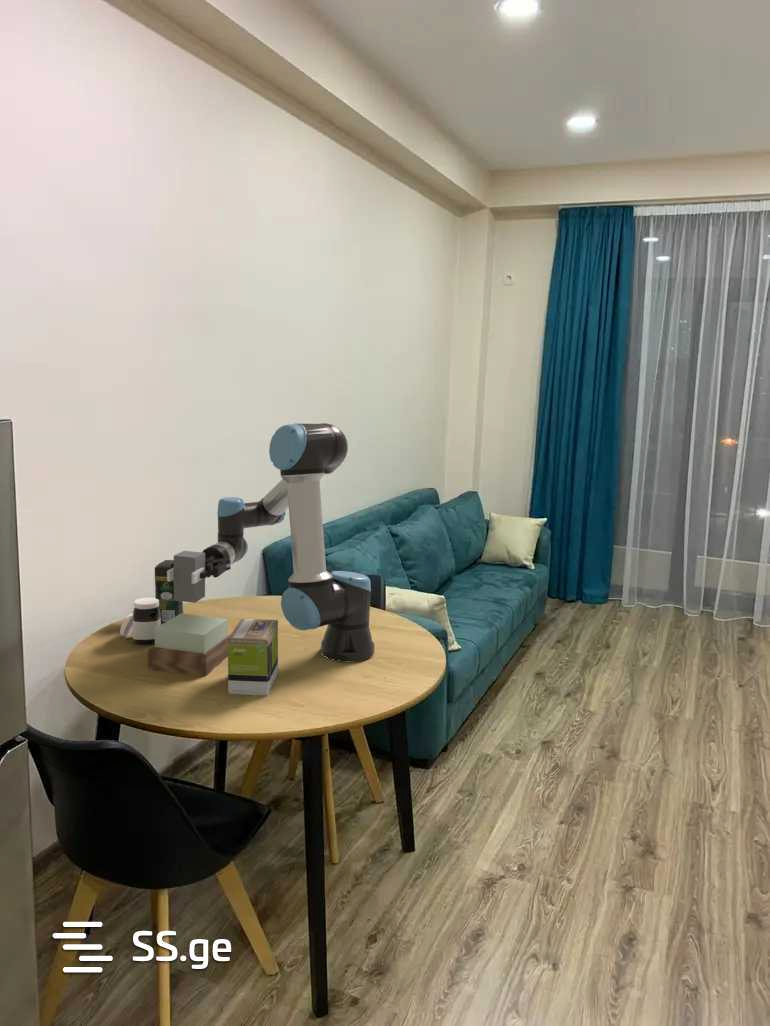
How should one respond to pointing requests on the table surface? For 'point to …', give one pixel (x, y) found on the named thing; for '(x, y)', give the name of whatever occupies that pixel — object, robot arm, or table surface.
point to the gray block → (188, 576)
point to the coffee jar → (166, 593)
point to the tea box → (253, 657)
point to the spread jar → (143, 621)
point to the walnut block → (187, 659)
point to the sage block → (191, 633)
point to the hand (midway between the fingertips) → (180, 577)
